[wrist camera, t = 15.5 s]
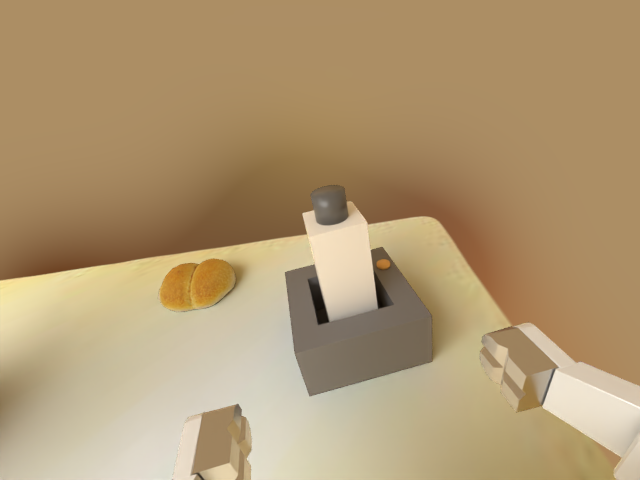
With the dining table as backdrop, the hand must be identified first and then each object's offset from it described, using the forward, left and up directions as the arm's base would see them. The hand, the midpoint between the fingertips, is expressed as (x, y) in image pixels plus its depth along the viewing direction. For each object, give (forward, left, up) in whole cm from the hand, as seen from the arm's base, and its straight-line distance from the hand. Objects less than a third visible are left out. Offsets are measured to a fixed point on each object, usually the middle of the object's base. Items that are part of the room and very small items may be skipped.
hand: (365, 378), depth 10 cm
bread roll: (-30, +6, -13) cm, 33 cm away
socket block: (-9, +10, -13) cm, 18 cm away
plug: (-9, +10, -12) cm, 18 cm away
